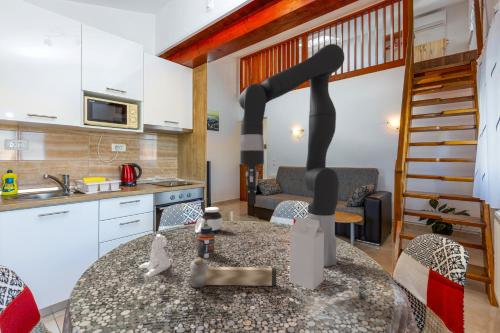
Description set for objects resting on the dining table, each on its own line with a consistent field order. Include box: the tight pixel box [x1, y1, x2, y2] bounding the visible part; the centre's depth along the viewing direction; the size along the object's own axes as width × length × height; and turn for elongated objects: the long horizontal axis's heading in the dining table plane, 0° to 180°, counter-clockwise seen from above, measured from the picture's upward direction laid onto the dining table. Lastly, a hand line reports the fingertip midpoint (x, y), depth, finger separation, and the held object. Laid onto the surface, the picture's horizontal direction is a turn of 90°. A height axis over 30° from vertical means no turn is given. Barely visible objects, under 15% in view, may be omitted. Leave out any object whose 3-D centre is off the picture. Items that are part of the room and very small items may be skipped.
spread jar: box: [194, 206, 223, 234], centre depth 119 cm, size 12×11×12 cm
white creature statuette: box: [139, 233, 172, 278], centre depth 75 cm, size 10×9×12 cm
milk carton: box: [288, 216, 324, 291], centre depth 67 cm, size 7×7×19 cm
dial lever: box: [189, 257, 277, 288], centre depth 65 cm, size 23×4×6 cm, turn 89°
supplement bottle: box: [197, 226, 216, 259], centre depth 86 cm, size 6×6×11 cm
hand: (252, 203), depth 76 cm, fingers closed
